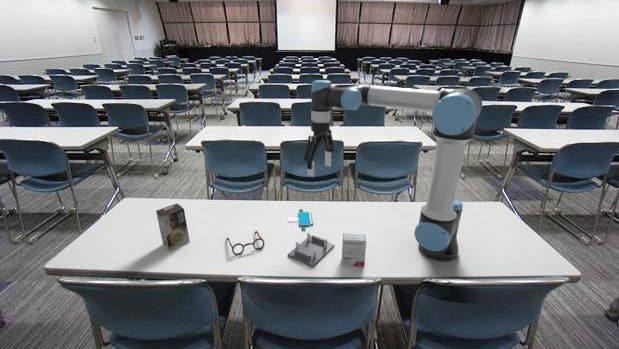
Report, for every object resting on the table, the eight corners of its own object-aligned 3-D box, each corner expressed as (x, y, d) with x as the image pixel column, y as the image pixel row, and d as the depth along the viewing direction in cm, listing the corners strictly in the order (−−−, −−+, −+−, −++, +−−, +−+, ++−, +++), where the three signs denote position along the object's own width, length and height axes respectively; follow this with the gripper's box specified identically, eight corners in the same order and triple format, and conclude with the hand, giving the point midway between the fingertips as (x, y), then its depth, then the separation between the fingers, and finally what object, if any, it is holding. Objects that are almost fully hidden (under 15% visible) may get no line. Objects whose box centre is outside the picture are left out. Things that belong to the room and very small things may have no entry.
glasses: (233, 257, 128) (232, 246, 126) (226, 240, 139) (225, 230, 137) (265, 248, 133) (264, 238, 131) (255, 233, 144) (255, 223, 142)
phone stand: (287, 210, 163) (287, 208, 162) (311, 210, 164) (311, 207, 163) (288, 232, 145) (288, 229, 144) (315, 231, 146) (315, 228, 145)
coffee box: (183, 235, 141) (177, 202, 135) (190, 242, 137) (184, 208, 131) (162, 244, 135) (155, 210, 129) (168, 251, 131) (161, 216, 125)
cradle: (334, 246, 134) (334, 236, 132) (313, 267, 122) (313, 256, 120) (310, 237, 140) (310, 227, 138) (287, 256, 128) (287, 245, 126)
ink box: (363, 259, 127) (365, 233, 122) (364, 267, 122) (366, 241, 118) (341, 258, 127) (342, 232, 123) (341, 265, 123) (342, 239, 118)
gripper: (328, 114, 140) (327, 160, 148) (294, 125, 121) (294, 178, 129) (343, 116, 136) (341, 163, 145) (311, 128, 117) (310, 182, 125)
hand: (319, 170), depth 137 cm, fingers open, 13 cm apart
